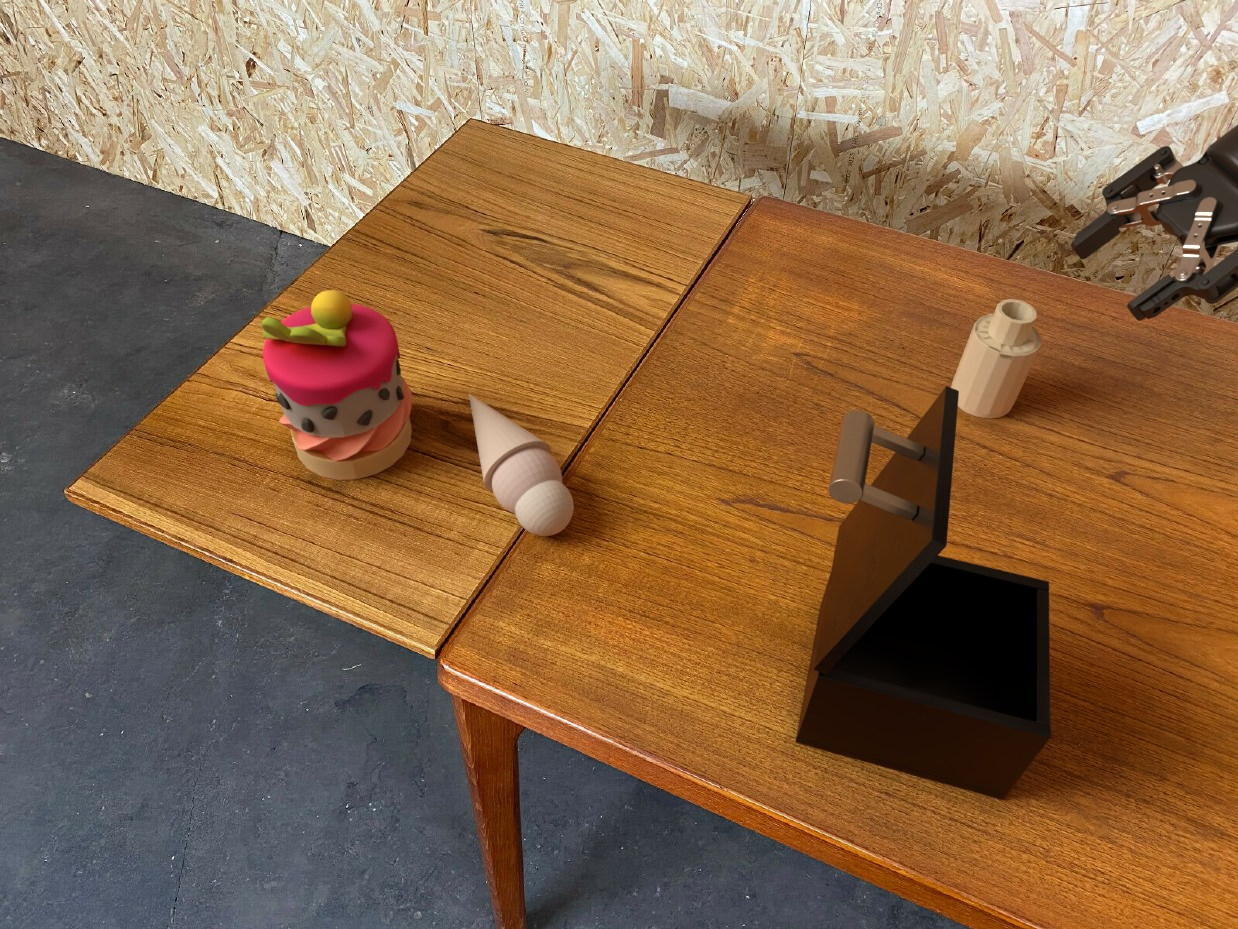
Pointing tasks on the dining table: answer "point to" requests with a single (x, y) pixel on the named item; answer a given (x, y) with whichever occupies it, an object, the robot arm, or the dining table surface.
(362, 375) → the cake
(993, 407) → the bottle
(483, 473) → the ice cream cone
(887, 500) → the bin lid
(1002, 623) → the bin
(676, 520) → the dining table surface
